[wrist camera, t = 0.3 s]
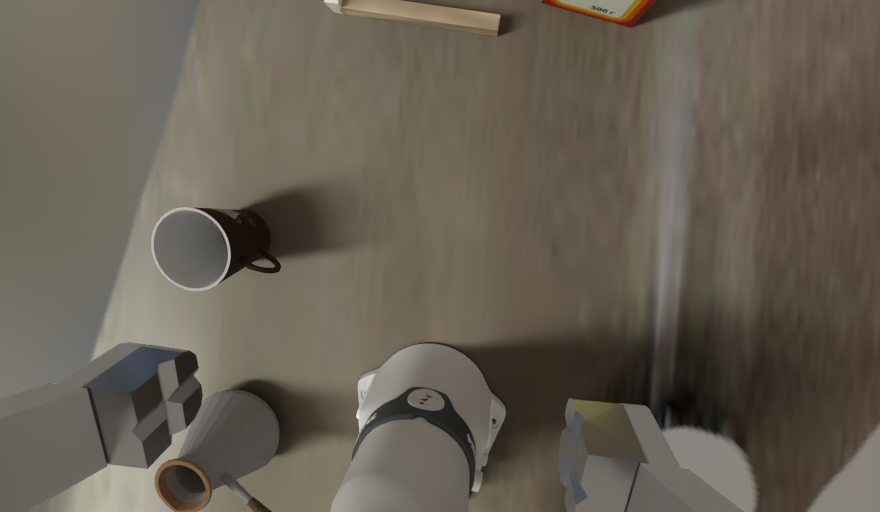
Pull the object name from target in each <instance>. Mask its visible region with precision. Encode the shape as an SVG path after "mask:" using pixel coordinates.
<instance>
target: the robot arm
mask: <svg viewBox="0 0 880 512" xmlns="http://www.w3.org/2000/svg"><path fill="white" fill-rule="evenodd" d="M198 368H199V367H198V362H197V358H196V355H195V354H194V353H192V352H191V351H188V350H181V349H174V348H167V347H161V346H154V345H146V344H138V343H131V342H128V343H120V344H118V345H117V346H115V347H114V348H112V349H111V350H109V351H107V352H106V353H104V354H103V355H101V356H99V357H98V358H96V359H95V360H93V361H92V362H90V363H88V364H87V365H85V366H84V367H82V368H81V369H79V370H77V371H76V372H74V373H73V374H71V375H70V376H68V377H66V378H65V379H63V380H62V381H60V382H58V383H57V384H50V383H48V384H45V385H42V386H39V387H35V388H32V389H29V390H26V391H22V392H19V393H16V394H13V395H9V396H6V397H3V398H0V512H27V511H29V510H31V509H33V508H34V507H36V506H38V505H40V504H42V503H43V502H45V501H47V500H49V499H50V498H52V497H54V496H56V495H57V494H59V493H61V492H63V491H64V490H66V489H68V488H70V487H71V486H73V485H75V484H77V483H78V482H80V481H82V480H84V479H86V478H87V477H89V476H91V475H93V474H94V473H96V472H98V471H100V470H101V469H103V468H105V467H107V464H112V465H121V466H129V467H138V468H146V469H148V468H149V467H150V466H151V465H152V464H153V463H154V462H155V461H156V459H157V458H158V457H159V456H160V455H161V454H162V453H163V452H164V451H165V450H166V449H167V448H168V447H169V446H170V445H171V442H172V435H173V434H175V433H177V432H179V431H181V430H184V429H186V428H187V427H188V426H189V425H190V423H191V422H192V421H193V420H194V419H195V417H196V415H197V413H198V411H199V409H200V407H201V403H202V395H203V394H202V387H201V384H200V383H199V382H198V380H197V379H196V378H195V377H194V376H193V375H194V374H195V372H196V371H197V370H198ZM358 397H359V408H358V411H357V415H356V417H357V418H358V419H359V432H360V433H359V435H358V437H357V440H356V444H355V447H354V450H353V454H352V463H351V465H350V467H349V469H348V471H347V473H346V475H345V477H344V479H343V481H342V484H341V486H340V488H339V490H338V492H337V494H336V496H335V498H334V500H333V503H332V506H331V511H330V512H469V495H470V493H471V491H474V492H478V491H479V489H480V486H481V483H482V479H483V473H482V472H481V471H480V470H481V468H482V466H486V464H487V461H488V453H489V451H490V449H491V447H492V445H493V443H494V440H495V438H496V436H497V434H498V432H499V430H500V428H501V425H502V423H503V421H504V419H505V416H506V408H505V406H504V404H503V403H502V402H501V401H500V400H499V399H498V398H497V397H496V396H495V395H494V394H493V393H491V391H490V389H489V388H488V386H487V383H486V381H485V379H484V377H483V375H482V373H481V372H480V370H479V369H478V367H477V366H476V365H475V364H474V363H473V362H472V361H471V360H470V359H469V358H468V357H467V356H465V355H464V354H462V353H461V352H459V351H457V350H455V349H453V348H450V347H447V346H444V345H439V344H417V345H413V346H410V347H407V348H405V349H402V350H401V351H399V352H397V353H396V354H394V355H393V356H392V357H391V358H390V359H389V360H388V361H387V362H386V363H385V364H384V365H383V366H381V367H380V368H378V369H375V370H372V371H370V372H367V373H365V374H364V375H362V376H361V377H360V380H359V382H358ZM492 418H493V419H495V421H492ZM565 419H566V424H567V427H566V428H565V429H564V430H563V431H562V432H561V435H560V441H559V452H558V464H559V473H560V479H561V482H562V483H563V484H564V485H565V486H566V487H567V490H566V494H565V499H564V502H565V507H566V512H743V511H742V510H741V509H740V508H738V507H737V506H736V505H734V504H733V503H732V502H730V501H729V500H728V499H727V498H725V497H724V496H723V495H721V494H720V493H719V492H717V491H716V490H715V489H714V488H712V487H711V486H710V485H708V484H707V483H706V482H704V481H703V480H702V479H701V478H699V477H698V476H697V475H695V474H694V473H693V472H692V471H690V470H689V469H682V468H680V466H679V464H678V462H677V460H676V459H675V457H674V455H673V453H672V451H671V449H670V447H669V445H668V443H667V442H666V439H665V438H664V436H663V434H662V432H661V430H660V428H659V426H658V424H657V422H656V420H655V418H654V417H653V415H652V413H651V411H650V409H649V408H648V407H646V406H645V405H634V404H624V403H619V404H616V403H607V402H599V401H590V400H581V399H573V398H569V400H568V402H567V405H566V409H565Z"/></svg>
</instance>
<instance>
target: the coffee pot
mask: <svg viewBox="0 0 880 512" xmlns="http://www.w3.org/2000/svg"><path fill="white" fill-rule="evenodd" d="M279 435H280V430H279V424H278V420H277V418H276V416H275V414H274V412H273V410H272V409H271V408H270V407H269V405H268V404H267V403H266V402H265V401H263V400H262V399H261V398H260V397H258V396H256V395H254V394H252V393H250V392H246V391H242V390H226V391H222V392H219V393H215V394H213V395H212V396H210V397H209V398H207V399H206V400H205V401H204V402H203V403H202V404H201V407H200V409H199V411H198V413H197V415H196V417H195V419H194V420H193V422H192V424H191V427H190V429H189V432H188V434H187V436H186V439H185V441H184V444H183V446H182V448H181V451H180V453H179V456H178V458H177V459H172V460H169V461H167V462H165V463H164V464H162V465H161V466H160V468H159V469H158V470H157V473H156V476H155V487H156V491H157V493H158V495H159V497H160V498H161V499H162V500H163V502H164V503H165V504H166V505H167V506H168V507H169V508H170V509H172V510H173V511H174V512H197V511H199V510H201V509H202V508H204V507H205V506H206V505H207V504H208V503H209V500H210V498H211V495H212V490H214V489H216V488H218V487H221V486H223V485H225V484H226V485H227V486H228V487H229V488H230V489H232V490H233V491H234V492H235V493H236V494H237V495H238V496H239V497H241V498H242V499H243V500H244V501H245V502H246V503H247V505H248V506H249V507H250V508H251V509H252V510H253V511H254V512H272V511H270V510H269V509H268V508H267V507H265V506H264V505H263V504H262V503H260V502H259V501H258V500H257V499H255V498H254V497H252V496H251V495H250V494H249V493H248V492H247V491H246V490H245V489H244V488H243V487H242V486H241V485H240V484H239V483H238V482H237V481H236V479H238V478H240V477H243V476H245V475H247V474H249V473H252V472H254V471H256V470H258V469H260V468H261V467H263V466H265V465H266V464H267V463H268V462H269V461H270V460H271V459H272V458H273V457H274V454H275V452H276V450H277V447H278V443H279Z"/></svg>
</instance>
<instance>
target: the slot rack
mask: <svg viewBox="0 0 880 512" xmlns="http://www.w3.org/2000/svg"><path fill="white" fill-rule="evenodd" d="M324 2H325V4H326V5H327V6H328V7H329V8H330V9H331V10H332V11H333V12H334V13H340V14H347V15H354V16H361V17H367V18H374V19H381V20H388V21H395V22H401V23H408V24H415V25H422V26H428V27H435V28H442V29H449V30H455V31H462V32H469V33H476V34H482V35H489V36H496V37H497V35H498V30H499V24H500V15H499V14H492V13H485V12H478V11H471V10H464V9H457V8H451V7H444V6H437V5H430V4H423V3H416V2H409V1H402V0H324Z"/></svg>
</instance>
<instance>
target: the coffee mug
mask: <svg viewBox="0 0 880 512" xmlns="http://www.w3.org/2000/svg"><path fill="white" fill-rule="evenodd" d="M269 243H270V233H269V229H268V227H267V225H266V223H265V222H264V220H263V219H262V218H261V217H260V216H258V215H257V214H256V213H253V212H251V211H247V210H230V209H210V208H189V207H182V208H176V209H173V210H171V211H169V212H167V213H166V214H164V215H163V216H162V217H161V218H160V219H159V220H158V222H157V223H156V225H155V227H154V230H153V233H152V238H151V249H152V254H153V258H154V261H155V263H156V265H157V267H158V269H159V270H160V271H161V273H162V274H163V275H164V276H165V277H166V278H167V279H168V280H169V281H170V282H171V283H173V284H174V285H176V286H178V287H180V288H182V289H186V290H189V291H203V290H207V289H210V288H212V287H214V286H215V285H217V284H219V283H220V282H222V281H223V280H225V279H227V278H228V277H230V276H231V275H233V274H235V273H236V272H238V271H239V270H241V269H243V268H244V267H247V268H249V269H251V270H255V271H258V272H263V273H276V272H279V271H280V268H281V265H280V263H279V262H278V261H277V260H276V259H275V258H274V257H273V256H271V255H270V254H269V253H267V252H266V251H267V249H268V247H269ZM262 256H265V257H266V258H267V259H268V260H270V261H271V262H272V263H273V264H274V265H275V267H274V268H264V267H259V266H256V265H253V264H251V263H252V262H254V261H255V260H257V259H258V258H260V257H262Z"/></svg>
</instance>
